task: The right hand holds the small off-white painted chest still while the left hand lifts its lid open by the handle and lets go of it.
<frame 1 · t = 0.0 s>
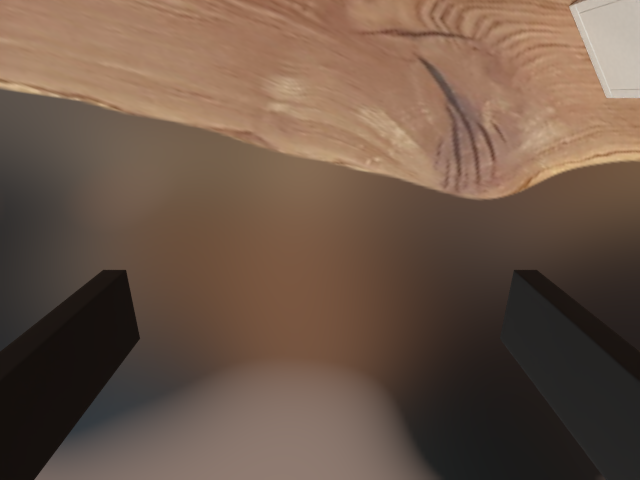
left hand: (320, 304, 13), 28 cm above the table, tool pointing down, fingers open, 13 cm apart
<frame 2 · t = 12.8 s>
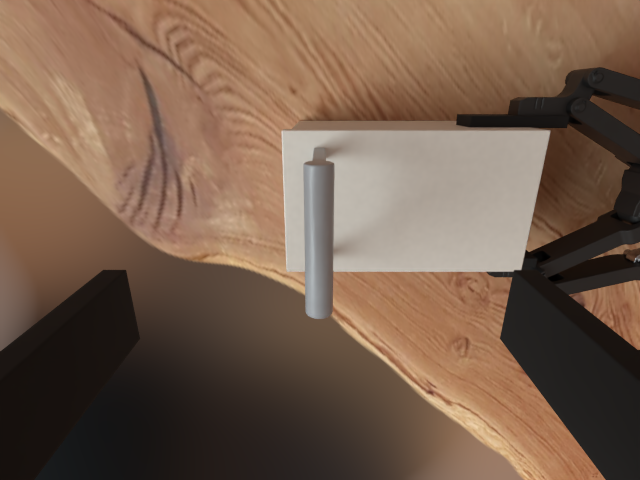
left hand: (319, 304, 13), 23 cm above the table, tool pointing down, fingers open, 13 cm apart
lid: (422, 221, 21), point 14 cm above the table, hinge at 0.0°
chest: (387, 175, 34), on the table, touching right hand
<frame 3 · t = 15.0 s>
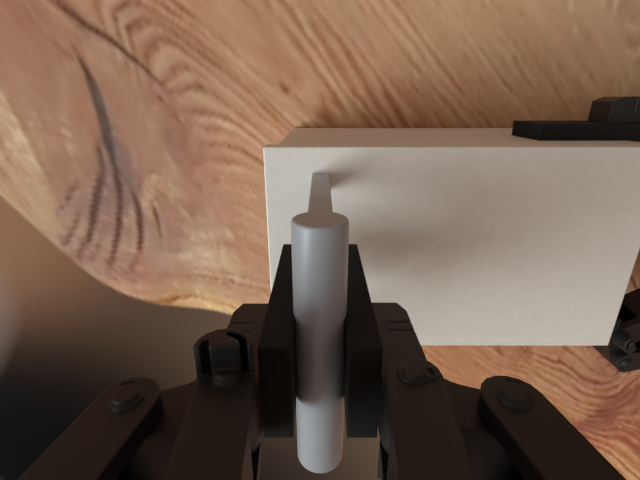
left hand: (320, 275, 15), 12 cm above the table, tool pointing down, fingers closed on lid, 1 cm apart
lid: (482, 291, 14), point 14 cm above the table, hinge at -0.1°, touching left hand
chest: (408, 198, 26), on the table, touching right hand
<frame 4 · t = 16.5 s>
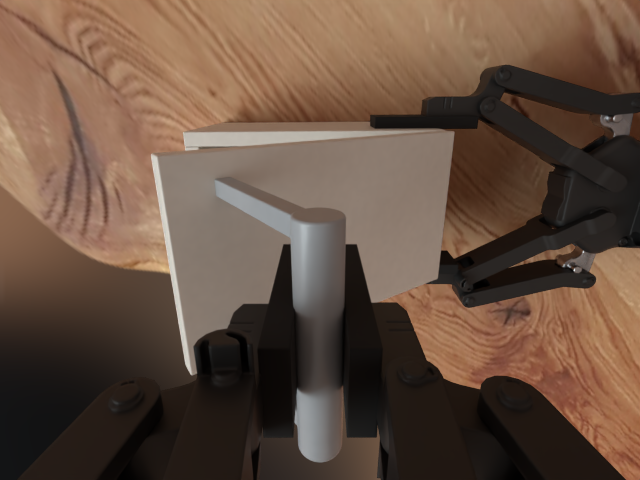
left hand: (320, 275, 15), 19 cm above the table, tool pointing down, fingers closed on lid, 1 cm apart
right hand: (369, 196, 27), fingers closed on chest, 10 cm apart
lid: (385, 257, 17), point 18 cm above the table, hinge at 34.8°, touching left hand
chest: (317, 178, 33), on the table, touching right hand
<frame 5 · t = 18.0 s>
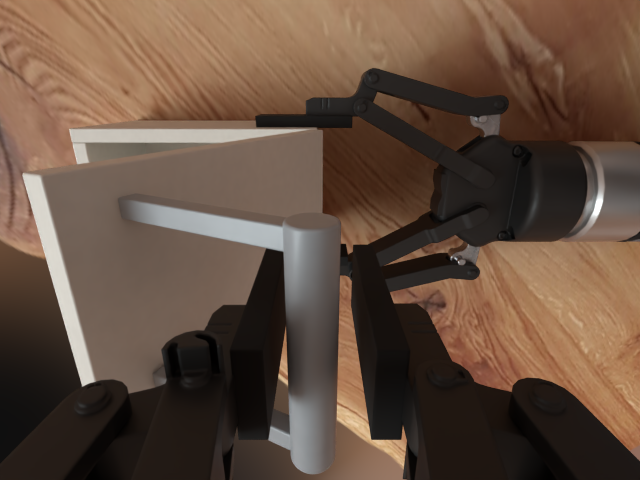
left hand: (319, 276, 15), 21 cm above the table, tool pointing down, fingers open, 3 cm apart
right hand: (262, 191, 28), fingers closed on chest, 10 cm apart
lid: (306, 255, 17), point 19 cm above the table, hinge at 63.1°
chest: (231, 174, 35), on the table, touching right hand
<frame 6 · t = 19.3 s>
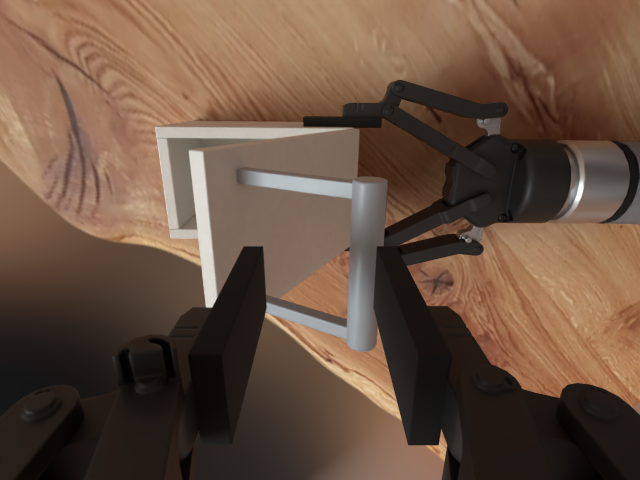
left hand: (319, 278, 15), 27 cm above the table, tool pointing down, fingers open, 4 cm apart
right hand: (304, 180, 34), fingers closed on chest, 10 cm apart
lid: (350, 220, 23), point 19 cm above the table, hinge at 60.5°
chest: (271, 167, 40), on the table, touching right hand
when the right hand's fingers open (7 cm above the table, at t = 22.0 s): chest stays where it is, on the table.
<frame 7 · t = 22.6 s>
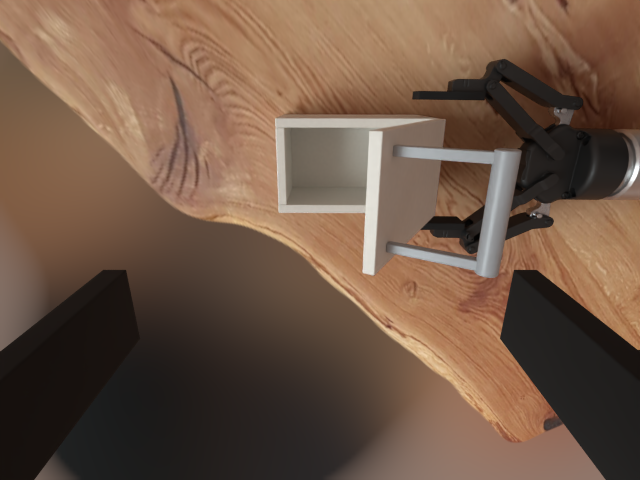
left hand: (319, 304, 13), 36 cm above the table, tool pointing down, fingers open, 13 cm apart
right hand: (408, 162, 40), fingers open, 13 cm apart
lid: (457, 189, 29), point 19 cm above the table, hinge at 60.0°
chest: (349, 154, 47), on the table
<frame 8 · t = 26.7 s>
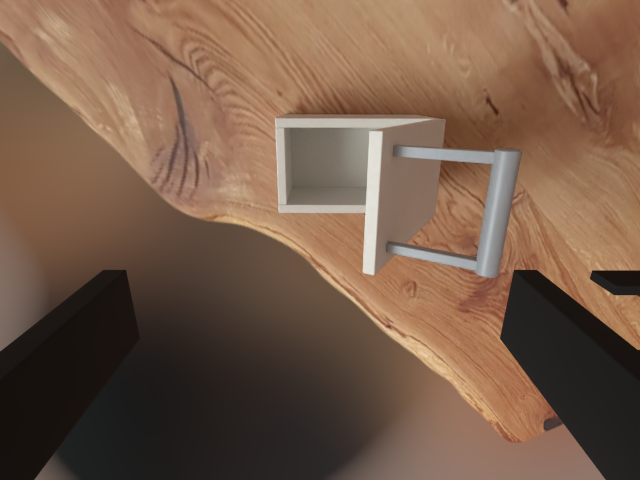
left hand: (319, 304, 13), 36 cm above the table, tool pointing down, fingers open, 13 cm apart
lid: (457, 189, 29), point 19 cm above the table, hinge at 60.0°
chest: (349, 154, 47), on the table
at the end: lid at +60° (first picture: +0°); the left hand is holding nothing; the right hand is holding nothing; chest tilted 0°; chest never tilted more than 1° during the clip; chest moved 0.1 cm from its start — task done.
